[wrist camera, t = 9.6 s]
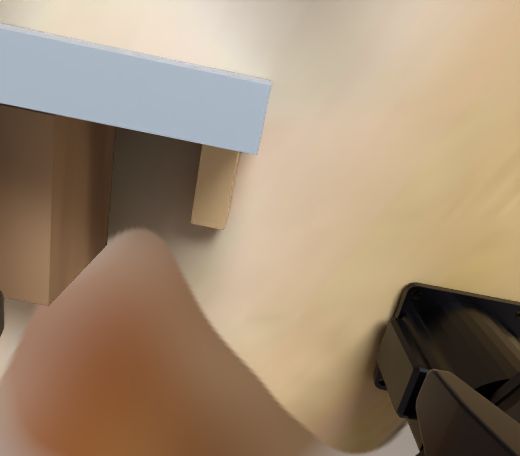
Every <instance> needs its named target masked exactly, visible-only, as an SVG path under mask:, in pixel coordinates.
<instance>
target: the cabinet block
mask: <svg viewBox="0 0 520 456" xmlns="http://www.w3.org/2000/svg"><path fill="white" fill-rule="evenodd" d="M115 133H116V126H111V125H106V124H102V123H97V122H92V121H87V120H82V119H77V118H72V117H67V116H62V115H57V114H52V113H47V112H42V111H38V110H33V109H28V108H23V107H18V106H13V105H8V104H3V103H0V291H1V292H2V293H3V295H4V298H8V299H13V300H19V301H24V302H30V303H35V304H41V305H47V306H49V305H50V304H51V303H52V301H54V300H55V299H56V298H57V296H58V295H59V294H60V293H61V292H62V291H63V290H64V289H65V288H66V287H67V286H68V285H69V284H70V283H71V282H72V281H73V280H74V279H75V278H76V277H77V276H78V275H79V274H80V272H81V271H82V270H83V269H84V268H85V267H86V266H87V265H88V264H89V263H90V262H91V261H92V260H93V259H94V258H95V257H96V256H97V255H98V254H99V253H100V252H101V251H102V249H103V248H104V247H105V246H106V245H107V233H108V220H109V208H110V195H111V183H112V171H113V158H114V146H115Z"/></svg>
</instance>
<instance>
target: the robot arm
mask: <svg viewBox="0 0 520 456" xmlns="http://www.w3.org/2000/svg"><path fill="white" fill-rule="evenodd" d="M417 290H418V291H419V292H418V294H416V295H411V294H412V292H413V291H417ZM518 311H520V302H516V301H510V300H505V299H500V298H495V297H490V296H484V295H479V294H474V293H469V292H464V291H458V290H453V289H448V288H443V287H438V286H432V285H427V284H422V283H416V282H413V283H410V284H408V285H407V286H406V287H405V289H404V291H403V294H402V297H401V300H400V302H399V305H398V308H397V311H396V314H395V316H394V317H393V318H392V319H391V320H389V322H388V325H387V328H386V331H385V333H384V336H383V339H382V342H381V345H380V347H379V350H378V353H377V356H376V360H377V363H378V364H377V366H376V369H375V372H374V375H373V380H374V383H375V386H376V387H377V388H379V389H383V390H388V392H389V395H390V398H391V400H392V403H393V406H394V408H395V411H396V412H397V414H398V415H399V417H402V418H407V421H408V423H409V426H410V428H411V431H412V433H413V436H414V438H415V441H416V443H417V446H418V448H419V450H420V453H418V454H417V455H416V456H520V313H519V314H517V315H515V314H516V313H517V312H518ZM3 329H4V295H3V293H2V292H1V291H0V336H1V334H2V332H3ZM382 378H383V379H384V380H383V381H380V379H382Z"/></svg>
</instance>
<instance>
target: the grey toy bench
mask: <svg viewBox="0 0 520 456" xmlns="http://www.w3.org/2000/svg"><path fill="white" fill-rule="evenodd" d="M270 89H271V82H270V80H266V79H261V78H256V77H252V76H247V75H242V74H238V73H233V72H228V71H223V70H219V69H214V68H209V67H205V66H200V65H195V64H190V63H186V62H181V61H176V60H172V59H167V58H162V57H157V56H153V55H148V54H143V53H139V52H134V51H129V50H124V49H120V48H115V47H110V46H106V45H101V44H96V43H91V42H87V41H82V40H77V39H73V38H68V37H63V36H58V35H54V34H49V33H44V32H40V31H35V30H30V29H25V28H21V27H16V26H11V25H7V24H2V23H0V103H3V104H8V105H13V106H18V107H23V108H28V109H33V110H38V111H42V112H47V113H52V114H57V115H62V116H67V117H72V118H77V119H82V120H87V121H92V122H97V123H102V124H106V125H111V126H116V127H121V128H126V129H131V130H136V131H141V132H146V133H151V134H156V135H161V136H166V137H170V138H175V139H180V140H185V141H190V142H195V143H200V144H202V150H201V157H200V163H199V170H198V176H197V183H196V190H195V196H194V203H193V210H192V216H191V223H190V224H195V225H201V226H206V227H211V228H216V229H221V230H224V228H225V225H226V221H227V218H228V214H229V208H230V203H231V197H232V192H233V186H234V181H235V175H236V170H237V164H238V159H239V153H240V152H244V153H249V154H254V155H257V154H258V149H259V144H260V139H261V134H262V129H263V124H264V119H265V114H266V109H267V104H268V99H269V94H270Z"/></svg>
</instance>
